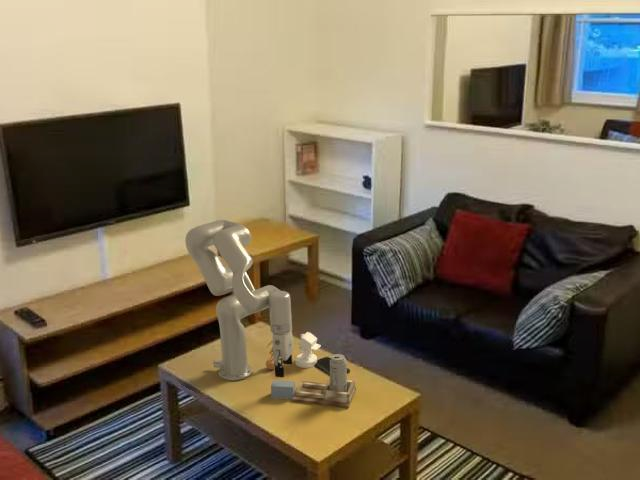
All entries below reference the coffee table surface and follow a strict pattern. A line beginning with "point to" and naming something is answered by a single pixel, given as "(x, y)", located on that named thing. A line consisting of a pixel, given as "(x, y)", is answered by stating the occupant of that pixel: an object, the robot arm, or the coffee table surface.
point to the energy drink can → (338, 373)
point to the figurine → (270, 362)
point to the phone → (325, 365)
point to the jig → (324, 394)
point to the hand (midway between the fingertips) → (283, 370)
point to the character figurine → (307, 351)
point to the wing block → (283, 389)
